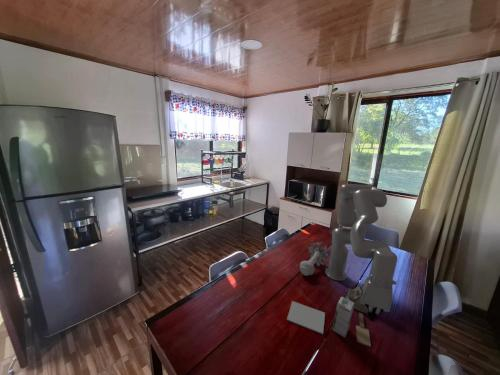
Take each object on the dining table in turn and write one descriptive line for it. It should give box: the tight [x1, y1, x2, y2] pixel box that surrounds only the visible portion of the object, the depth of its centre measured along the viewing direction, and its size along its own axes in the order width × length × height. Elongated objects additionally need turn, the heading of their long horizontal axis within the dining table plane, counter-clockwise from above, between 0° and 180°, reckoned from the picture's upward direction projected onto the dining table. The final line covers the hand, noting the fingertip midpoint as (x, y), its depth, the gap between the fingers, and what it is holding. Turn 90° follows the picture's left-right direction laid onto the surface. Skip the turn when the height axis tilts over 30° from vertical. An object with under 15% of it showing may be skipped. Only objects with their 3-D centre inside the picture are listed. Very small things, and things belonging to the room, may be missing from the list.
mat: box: [286, 300, 326, 335], centre depth 96 cm, size 12×16×1 cm
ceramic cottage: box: [345, 282, 374, 314], centre depth 107 cm, size 16×16×15 cm
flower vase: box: [299, 241, 329, 277], centre depth 133 cm, size 13×18×25 cm
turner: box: [355, 312, 372, 348], centre depth 92 cm, size 16×5×1 cm, turn 156°
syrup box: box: [331, 296, 355, 338], centre depth 89 cm, size 6×6×14 cm
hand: (371, 318), depth 84 cm, fingers closed
